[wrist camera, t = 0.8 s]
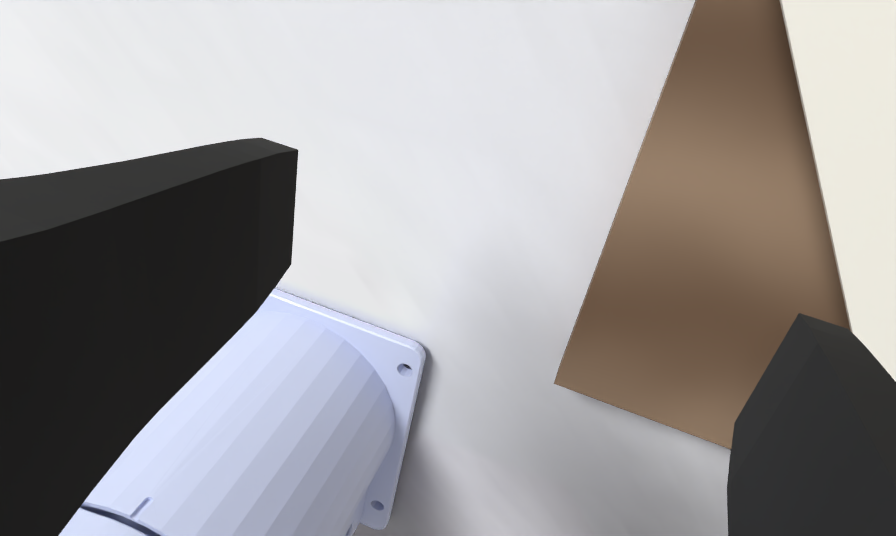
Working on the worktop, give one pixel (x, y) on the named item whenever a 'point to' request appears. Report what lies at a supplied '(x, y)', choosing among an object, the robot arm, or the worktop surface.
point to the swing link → (854, 149)
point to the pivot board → (710, 234)
